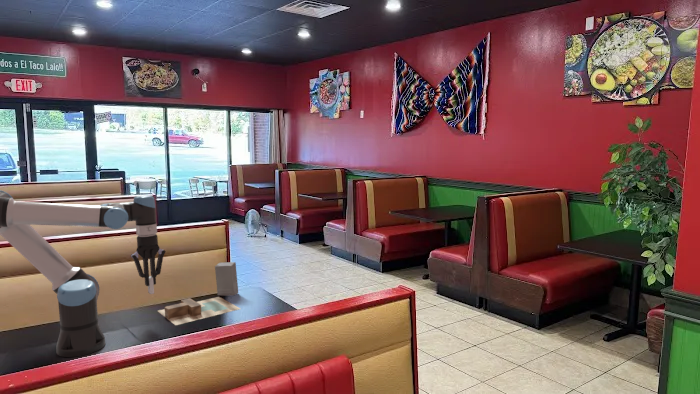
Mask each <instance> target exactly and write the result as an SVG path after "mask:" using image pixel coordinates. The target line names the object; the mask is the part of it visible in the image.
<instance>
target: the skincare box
mask: <svg viewBox="0 0 700 394" xmlns="http://www.w3.org/2000/svg"><path fill="white" fill-rule="evenodd" d="M236 264H237V263H236V261H231V262H227V261H226V262H219V263H217V264H216V265H215V266H214V271H215V282H216V292H217V293H216V294H217V296H232V297H233V296H235V295H238V294H239V285H238V274H237V265H236Z"/></svg>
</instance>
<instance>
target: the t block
mask: <svg viewBox="0 0 700 394" xmlns="http://www.w3.org/2000/svg"><path fill="white" fill-rule="evenodd" d="M197 302H198V301H195V300H193V299H192V298H190V297H189V298H185V299H181V300H180V302H179V303H176V304H175V303H174V304H171V305H166V306H164V309H165V317H164V318H166V317H167V318H168V319H170V318H174V317H178V316H183V315H187V314H189V315H190V316H192V317H193V316H197V315H201V305H200V304H199V303H197ZM167 318H166V319H167ZM168 319H167V320H168Z"/></svg>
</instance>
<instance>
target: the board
mask: <svg viewBox="0 0 700 394" xmlns="http://www.w3.org/2000/svg"><path fill="white" fill-rule="evenodd" d="M196 302H197V303H199V304H200V305H201V315H197V316H193V317H192V316H190V315H189V314H187V315H183V316H178V317H174V318H170V319H168V318H167V317H165V308H164V309H159V310H157V312H158V313H159V314H161V315H162V317H164V318H166V320H168V321H169V322H170V323H172V324H173V325H174V326H180V325H183V324H187V323H190V322H191V323H192V322H195V321H198V320H199V321H200V320H202V319H207V318H210V317H211V318H212V317H216V316H218V315H223V314H226V313H230V312H235V311H238V310H239V311H240V310H241V309H242V308H241V307H238V306H237V305H235V304H233V303H232V302H229V301H228V300H226V299H224V298H222V297H220V296H216V297H212V298H207V299H203V300H198V301H196Z"/></svg>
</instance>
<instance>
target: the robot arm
mask: <svg viewBox="0 0 700 394" xmlns="http://www.w3.org/2000/svg"><path fill="white" fill-rule="evenodd" d="M156 212H157V208H156V201H155V197H154V196H152V195H137V196H133V201H129V202H128V201H127V202H113V203H112V202H109V203H102V204H100V205H95V204H94V205H92V204H91V205H89V204H76V203H75V204H74V203H73V204H72V203H54V202H52V203H51V202H37V201H35V202H33V201H19V200H15V199H14V198H13V197H12V195H10V193H8V192H6V191H4V190H1V189H0V236H1V237H2V238H3V239H4V240H5V241H6V242H8V243H9V244H10V245H11V246H12V247H13V248H14V249H15V250H16V252H18V253H20V255H21V256H23V257H24V258H25V259H26V260H27V261H28V262H29V263H30V264H31V265H32V266H33V267H34V268H35V269H36V270H38V271H39V273H41V274H42V275H43V276H44V277H45V278H46V279H47V280H48V281H49V282H50V283H51V284H52V285H51V286H52V287H51V290H52V291H53V292H54V294H56V298H57V302H58V316H59V325H60V326H59V327H60V330H59V331H60V332H59V335H58V339H57V342H56V346H55V350H56V355H57V356H58V357H63V358H73V357H80V356H87V355H90V354H93V353H95V352H97V351H99V350H101V349H102V348H104V346H106V336H105V334H104V333H103V331H102V328H101V326H100V325H99V317H98V316H99V315H98V314H99V313H98V299H99V295H100V284H99V282H98V281H97V278H96V277H94V276H93V275H91V274H88V273H86V272H85V270H83V269H82V267H80V266H73V265H72V264H70V262H68V261H67V259H65V257H64V256H62V255H61V254H60V252H58V251H57V250H56V248H54V247H53V246H52V245H51V244H50V243H49V242H48V240H46V239H45V238H44V237H43V236H42V235H41V234H40V233H39V232H38V231H37V230H36V229H35V228H34V227H32V226H38V225H39V226H62V227H65V226H69V227H90V228H91V227H94V228H95V227H98V228H99V227H100V228H109V229H112V230H119V229H122V228H124V226H126V224H127V223H129V222H135V230H136V231H135V233H136V251H134V253H132V254H130V257H131V258H132V259H133V262H134V264H135V267H136V270H137V274H138V276H139V277H140V278H142V279H143V278H144V286H146V287H147V291H148V292H147V293H148V294H149V295H153V294H155V285H156V284H157V276H159V275H161V272H162V265H163V259H164V256H165V254H166V250H165V249H163V248H160V246H159V242H158V241H159V239H158V235H157V233H158V226H157V213H156ZM157 254H158V255H157ZM139 256H140V258H141V259H142V265H143V267H142V265H141V262H140V260H139ZM156 256H157V260H156ZM149 266H150V268H149ZM149 269H150V270H149Z"/></svg>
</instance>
